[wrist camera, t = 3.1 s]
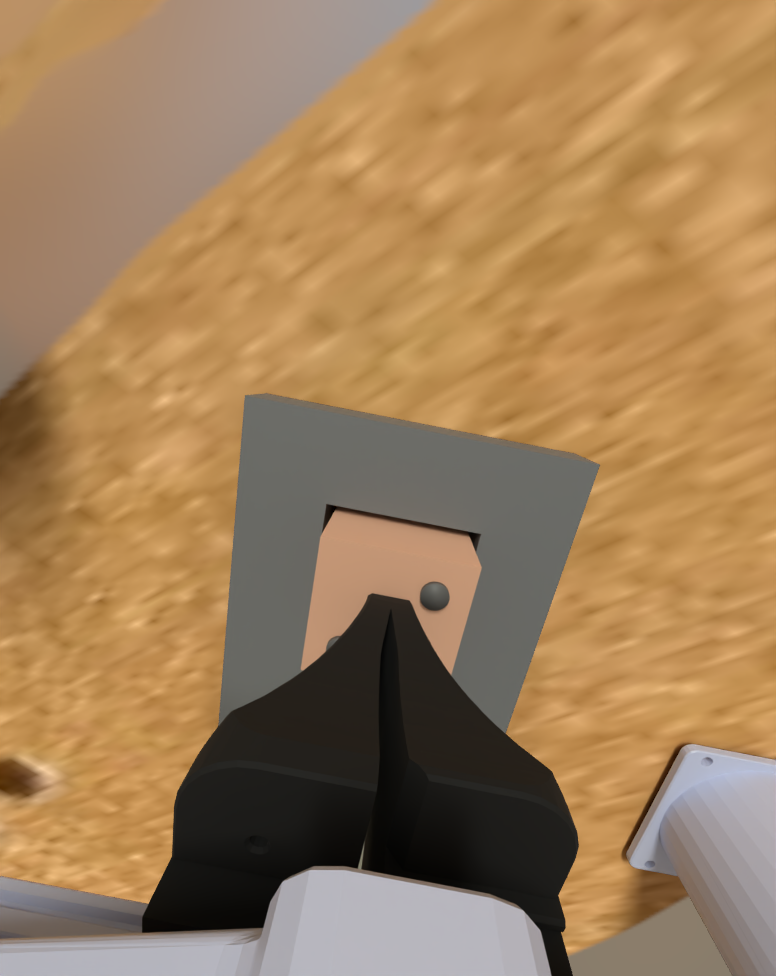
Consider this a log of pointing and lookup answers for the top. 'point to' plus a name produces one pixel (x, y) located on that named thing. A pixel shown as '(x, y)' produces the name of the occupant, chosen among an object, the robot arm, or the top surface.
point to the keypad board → (402, 494)
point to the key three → (391, 578)
